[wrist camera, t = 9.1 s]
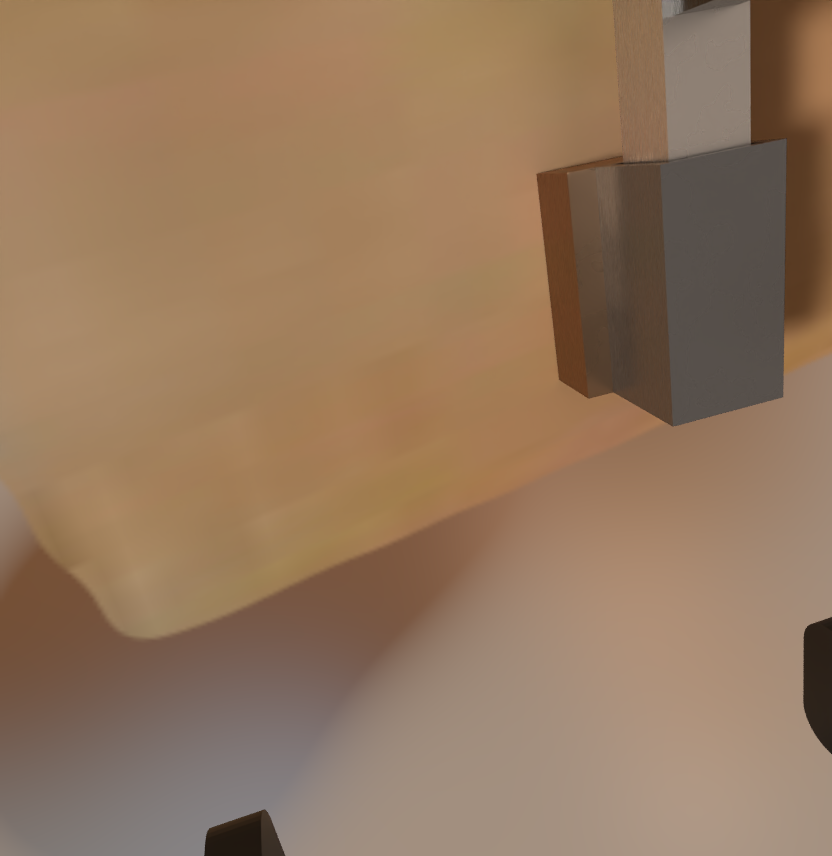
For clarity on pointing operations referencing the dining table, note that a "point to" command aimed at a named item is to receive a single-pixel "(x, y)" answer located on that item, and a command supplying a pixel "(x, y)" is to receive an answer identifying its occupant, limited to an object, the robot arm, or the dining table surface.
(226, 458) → the dining table surface
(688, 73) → the grey angled block
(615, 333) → the sleeve
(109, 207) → the dining table surface
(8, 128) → the dining table surface
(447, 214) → the dining table surface
